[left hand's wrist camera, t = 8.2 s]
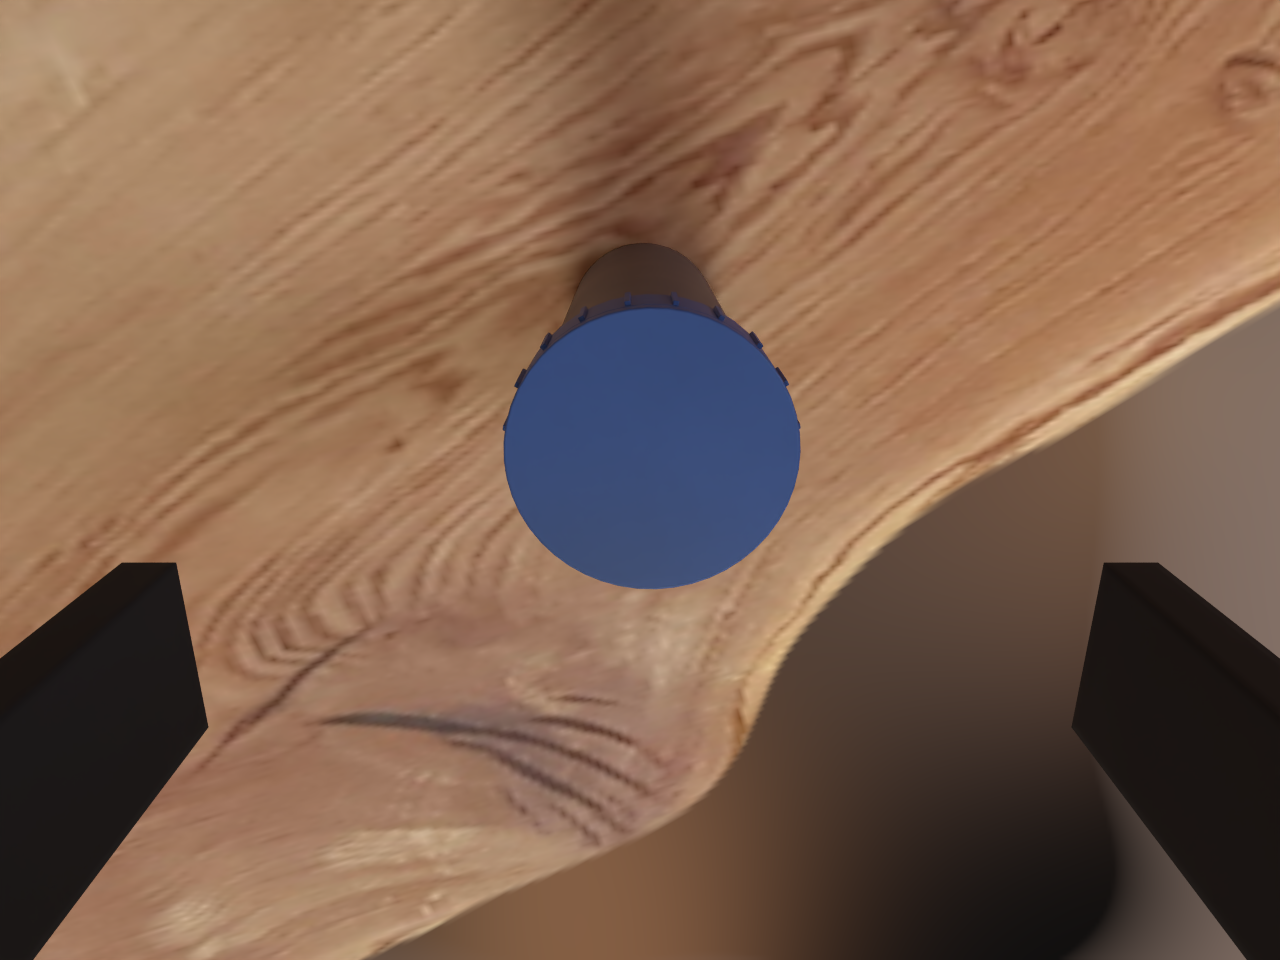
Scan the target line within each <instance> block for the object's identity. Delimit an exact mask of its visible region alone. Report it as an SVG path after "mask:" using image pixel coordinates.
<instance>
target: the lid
mask: <svg viewBox="0 0 1280 960" xmlns="http://www.w3.org/2000/svg"><path fill="white" fill-rule="evenodd" d="M762 347H763V345H762V343H761V342H760V340H759V339H758V337H757V336H756V335H755V334H754V332H751V333H750V334H749V333H748V332H747V331H745V330H744V329H743V328H742V327H741V326H740V325H738V324H737V323H736V322H735V321H733V320H732V319H730V318H729V317H727V316H726V315H724V314H723V312H722V310H721V308H720V307H718V306H716V305H715V307H714V308H711V307H709V306H707V305H704V304H702V303H699V302H696V301H693V300H689V299H686V298H682V297H678V296H677V293H676V292H671V296H670V295H658V294H643V295H633V296H631V294H630V292H626V293H625V297H621V298H617V299H613V300H609V301H606V302H604V303H601V304H599V305H596V306H593V307H591V308H589V309H587V307H586V306H584V307H582V308H581V311H580V314H578V315H576V316H575V317H573V318H572V319H571V320H569V321H568V322H567V323H565V324H564V325H562V326H561V327H560V328H559V329H558V330H557V331H556V332H555V333H554V334H553V335H551V334H550V333H548V334H547V335H546V336H545V338H544V340H543V342H542V344H541V346H540V350H539V351H538V352H537V354H536V355H535V357H534V359H533V360H532V362H531V364H530V365H529V367H528V369H527V370H525V369H523V370H522V372H521V374H520V375H519V377H518V379H517V381H516V383H515V386H514V387H516V388H518V389H517V392H516V394H515V396H514V399H513V401H512V404H511V406H510V410H509V414H508V417H507V419H506V421H505V423H504V425H503V430H504V431H505V435H504V464H505V471H506V477H507V481H508V484H509V488H510V491H511V494H512V497H513V499H514V502H515V504H516V506H517V508H518V510H519V513H520V514H521V516H522V517H523V519H524V521H525V522H526V524H527V525H528V527H529V528H530V530H531V531H532V532H533V533H534V535H535V536H536V537H537V538H538V539H539V541H540V542H541V543H542V544H543V545H544V546H545V547H546V548H547V549H549V550H550V551H551V552H552V553H553V554H554V555H555V556H557V557H558V558H559V559H561V560H562V561H563V562H565V563H566V564H568V565H569V566H571V567H573V568H574V569H576V570H578V571H580V572H582V573H583V574H585V575H588V576H590V577H593V578H595V579H598V580H600V581H603V582H607V583H610V584H614V585H618V586H623V587H630V588H637V589H663V588H674V587H679V586H683V585H688V584H693V583H696V582H698V581H701V580H704V579H707V578H710V577H712V576H714V575H716V574H718V573H721V572H723V571H725V570H727V569H728V568H730V567H731V566H733V565H734V564H736V563H738V562H739V561H741V560H742V559H743V558H745V557H746V556H747V555H748V554H749V553H751V552H752V551H753V550H754V549H755V548H756V547H757V546H758V545H759V544H760V543H761V542H762V541H763V540H764V539H765V538H766V537H767V536H768V535H769V533H770V532H771V531H772V529H773V528H774V526H775V525H776V524H777V522H778V521H779V519H780V517H781V516H782V514H783V512H784V510H785V508H786V507H787V505H788V502H789V500H790V497H791V495H792V492H793V489H794V486H795V482H796V478H797V474H798V470H799V460H800V432H799V429H800V423H799V422H798V420H797V415H796V411H795V408H794V405H793V402H792V399H791V396H790V394H789V392H788V390H787V388H786V386H788V385H789V383H788V381H787V380H786V378H785V377H784V375H783V374H782V372H781V371H780V369H779V368H778V367H777V368H774V366H773V365H772V363H771V362H770V360H769V359H768V357H767V356H766V354H765V353H764V351H763V350H762Z"/></svg>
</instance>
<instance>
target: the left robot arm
mask: <svg viewBox="0 0 1280 960" xmlns="http://www.w3.org/2000/svg"><path fill="white" fill-rule="evenodd" d="M207 728H208V723H207V717H206V712H205V707H204V702H203V697H202V692H201V687H200V682H199V677H198V672H197V667H196V661H195V656H194V651H193V646H192V641H191V636H190V631H189V626H188V621H187V616H186V611H185V605H184V600H183V595H182V590H181V585H180V580H179V575H178V570H177V565H176V563H121V564H120V565H118V566H117V567H116V568H115V569H113V570H112V571H111V572H109V573H108V574H107V575H106V576H104V577H103V578H102V579H101V580H99V581H98V582H97V583H96V584H94V585H93V586H92V587H90V588H89V589H88V590H87V591H85V592H84V593H83V594H82V595H80V596H79V597H78V598H76V599H75V600H74V601H73V602H71V603H70V604H69V605H68V606H66V607H65V608H64V609H63V610H61V611H60V612H59V613H57V614H56V615H55V616H54V617H52V618H51V619H50V620H49V621H47V622H46V623H45V624H43V625H42V626H41V627H40V628H38V629H37V630H36V631H35V632H33V633H32V634H31V635H29V636H28V637H27V638H26V639H24V640H23V641H22V642H21V643H19V644H18V645H17V646H16V647H14V648H13V649H12V650H10V651H9V652H8V653H7V654H5V655H4V656H3V657H2V658H0V960H33V959H34V958H35V957H36V955H37V954H38V953H39V951H40V950H41V949H42V947H43V946H44V945H45V943H46V942H47V941H48V939H49V938H50V937H51V935H52V934H53V933H54V931H55V930H56V929H57V927H58V926H59V925H60V923H61V922H62V921H63V920H64V918H65V917H66V916H67V914H68V913H69V912H70V910H71V909H72V908H73V906H74V905H75V904H76V902H77V901H78V900H79V898H80V897H81V896H82V894H83V893H84V892H85V890H86V889H87V888H88V886H89V885H90V884H91V882H92V881H93V880H94V878H95V877H96V876H97V874H98V873H99V872H100V870H101V869H102V868H103V866H104V865H105V864H106V862H107V861H108V860H109V858H110V857H111V856H112V855H113V853H114V852H115V851H116V849H117V848H118V847H119V845H120V844H121V843H122V841H123V840H124V839H125V837H126V836H127V835H128V833H129V832H130V831H131V829H132V828H133V827H134V825H135V824H136V823H137V821H138V820H139V819H140V817H141V816H142V815H143V813H144V812H145V811H146V809H147V808H148V807H149V805H150V804H151V803H152V801H153V800H154V799H155V797H156V796H157V795H158V793H159V792H160V791H161V789H162V788H163V787H164V786H165V784H166V783H167V782H168V780H169V779H170V778H171V776H172V775H173V774H174V772H175V771H176V770H177V768H178V767H179V766H180V764H181V763H182V762H183V760H184V759H185V758H186V756H187V755H188V754H189V752H190V751H191V750H192V748H193V747H194V746H195V744H196V743H197V742H198V740H199V739H200V738H201V736H202V735H203V734H204V732H205V731H206V730H207ZM1072 728H1073V730H1074V731H1075V732H1076V734H1077V735H1078V736H1079V738H1080V739H1081V740H1082V742H1083V743H1084V744H1085V746H1086V747H1087V748H1088V750H1089V751H1090V752H1091V754H1092V755H1093V756H1094V758H1095V759H1096V760H1097V762H1098V763H1099V764H1100V766H1101V767H1102V768H1103V770H1104V771H1105V772H1106V774H1107V775H1108V776H1109V777H1110V779H1111V780H1112V782H1113V783H1114V784H1115V785H1116V787H1117V788H1118V789H1119V791H1120V792H1121V793H1122V795H1123V796H1124V797H1125V799H1126V800H1127V801H1128V803H1129V804H1130V805H1131V807H1132V808H1133V809H1134V811H1135V812H1136V813H1137V815H1138V816H1139V817H1140V819H1141V820H1142V821H1143V823H1144V824H1145V825H1146V827H1147V828H1148V829H1149V831H1150V832H1151V833H1152V835H1153V836H1154V837H1155V839H1156V840H1157V841H1158V843H1159V844H1160V845H1161V846H1162V848H1163V849H1164V851H1165V852H1166V853H1167V854H1168V856H1169V857H1170V858H1171V860H1172V861H1173V862H1174V864H1175V865H1176V866H1177V868H1178V869H1179V870H1180V872H1181V873H1182V874H1183V876H1184V877H1185V878H1186V880H1187V881H1188V882H1189V884H1190V885H1191V886H1192V888H1193V889H1194V890H1195V892H1196V893H1197V894H1198V896H1199V897H1200V898H1201V900H1202V901H1203V902H1204V904H1205V905H1206V906H1207V908H1208V909H1209V910H1210V912H1211V913H1212V914H1213V915H1214V917H1215V918H1216V919H1217V921H1218V922H1219V923H1220V925H1221V926H1222V927H1223V929H1224V930H1225V931H1226V933H1227V934H1228V935H1229V937H1230V938H1231V939H1232V941H1233V942H1234V943H1235V945H1236V946H1237V947H1238V949H1239V950H1240V951H1241V953H1242V954H1243V955H1244V957H1245V958H1246V959H1247V960H1280V658H1278V657H1277V656H1276V655H1275V654H1273V653H1272V652H1271V651H1270V650H1268V649H1267V648H1266V647H1264V646H1263V645H1262V644H1261V643H1259V642H1258V641H1257V640H1256V639H1254V638H1253V637H1252V636H1250V635H1249V634H1248V633H1247V632H1245V631H1244V630H1243V629H1242V628H1240V627H1239V626H1238V625H1237V624H1235V623H1234V622H1233V621H1231V620H1230V619H1229V618H1228V617H1226V616H1225V615H1224V614H1223V613H1221V612H1220V611H1219V610H1217V609H1216V608H1215V607H1214V606H1212V605H1211V604H1210V603H1209V602H1207V601H1206V600H1205V599H1204V598H1202V597H1201V596H1200V595H1198V594H1197V593H1196V592H1195V591H1193V590H1192V589H1191V588H1190V587H1188V586H1187V585H1186V584H1184V583H1183V582H1182V581H1181V580H1179V579H1178V578H1177V577H1176V576H1174V575H1173V574H1172V573H1171V572H1169V571H1168V570H1167V569H1165V568H1164V567H1163V566H1162V565H1160V564H1159V563H1104V565H1103V570H1102V575H1101V580H1100V585H1099V590H1098V595H1097V600H1096V605H1095V611H1094V616H1093V621H1092V626H1091V631H1090V636H1089V641H1088V646H1087V651H1086V656H1085V662H1084V667H1083V672H1082V677H1081V682H1080V687H1079V692H1078V697H1077V702H1076V708H1075V712H1074V717H1073V723H1072Z"/></svg>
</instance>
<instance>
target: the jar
mask: <svg viewBox="0 0 1280 960" xmlns="http://www.w3.org/2000/svg"><path fill="white" fill-rule="evenodd" d="M626 292H630V294H631V296H633V295H643V294H658V295H670V296H671V292H676V293H677V296H678V297H682V298H686V299H689V300H693V301H696V302H699V303H702V304H704V305H707V306H709V307H711V308H714V307H715V305H716V306H718V307H720V308H721V306H720V304H719V303H718V301H717V299H716V297H715V296H714V294H713V292H712V290H711V289H710V287H709V285H708V283H707V282H706V280H705V278H704V277H703V275H702V274H701V272H700V271H699V270H698V268H697V267H696V266H695V265H694V264H693V263H692V262H691V261H690V260H688V259H687V258H686V257H685V256H683V255H682V254H680V253H678V252H677V251H674V250H672V249H670V248H667V247H664V246H661V245H656V244H647V243H639V244H631V245H627V246H622V247H620V248H617V249H615V250H613V251H611V252H609V253H607V254H605V255H604V256H603V257H601V258H600V259H599V260H597V261H596V262H595V263H594V264H593V265H592V266H591V267H590V269H589V270H588V271H587V272H586V274H585V275H584V277H583V278H582V280H581V282H580V284H579V286H578V289H577V291H576V294H575V296H574V298H573V301H572V303H571V306H570V308H569V310H568V313H567V315H566V318H565V320H564V323H563V325H564V324H565V323H567V322H568V321H569V320H571V319H572V318H573V317H575V316H576V315H578V314H580V311H581V308H582V307H584V306H586V307H587V309H589V308H591V307H593V306H596V305H599V304H601V303H604V302H606V301H609V300H613V299H617V298H621V297H625V293H626ZM721 310H722V308H721ZM722 312H723V314H724V315H725V313H724V311H723V310H722Z"/></svg>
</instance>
